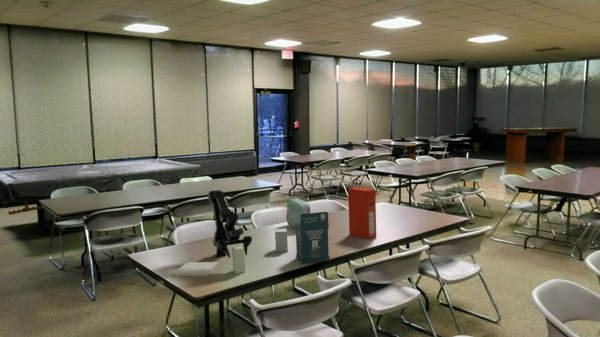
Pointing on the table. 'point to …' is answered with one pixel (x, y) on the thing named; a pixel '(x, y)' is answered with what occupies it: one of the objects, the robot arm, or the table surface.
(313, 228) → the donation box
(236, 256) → the sage block
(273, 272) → the table surface
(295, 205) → the lunch box
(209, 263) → the grey board
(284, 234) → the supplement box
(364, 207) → the file binder
